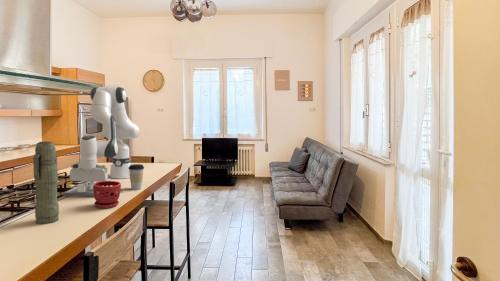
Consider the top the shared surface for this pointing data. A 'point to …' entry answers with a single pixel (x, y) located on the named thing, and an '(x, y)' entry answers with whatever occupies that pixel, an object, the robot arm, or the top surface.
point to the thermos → (46, 183)
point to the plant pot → (106, 193)
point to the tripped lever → (81, 188)
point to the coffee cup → (136, 176)
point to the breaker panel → (79, 193)
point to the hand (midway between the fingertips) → (89, 188)
